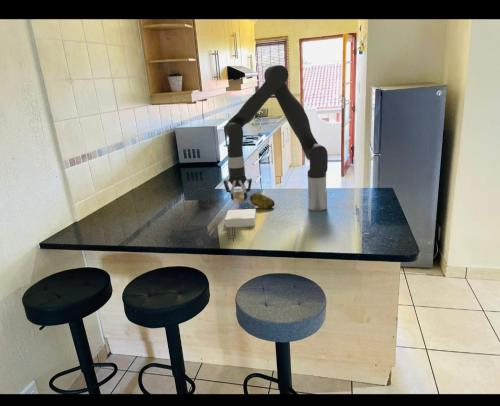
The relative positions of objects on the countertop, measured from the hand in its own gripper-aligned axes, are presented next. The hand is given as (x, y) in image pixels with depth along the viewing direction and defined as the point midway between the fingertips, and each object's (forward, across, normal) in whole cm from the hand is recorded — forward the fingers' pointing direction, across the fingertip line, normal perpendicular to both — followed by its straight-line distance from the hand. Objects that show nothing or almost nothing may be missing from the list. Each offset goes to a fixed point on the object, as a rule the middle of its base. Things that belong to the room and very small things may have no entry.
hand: (239, 199), depth 182 cm
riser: (+11, 0, 0) cm, 11 cm away
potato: (+11, -10, -19) cm, 24 cm away
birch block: (0, 0, 0) cm, 0 cm away
